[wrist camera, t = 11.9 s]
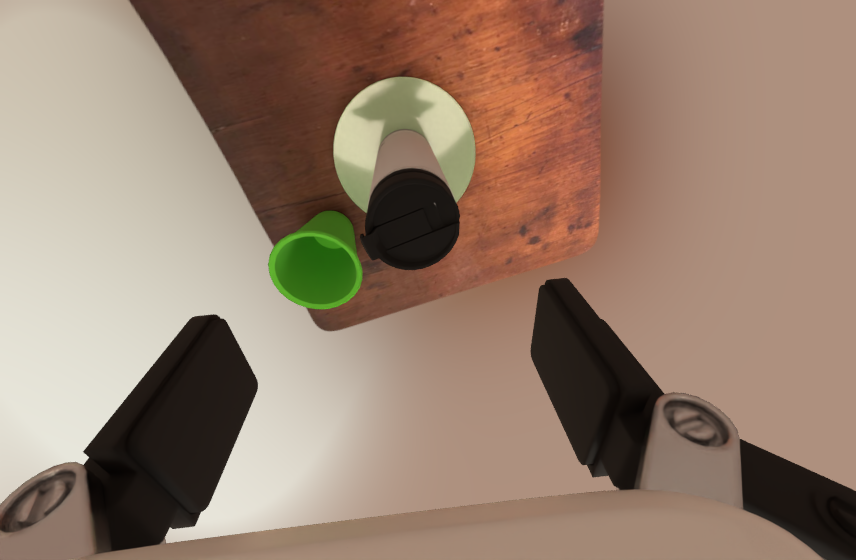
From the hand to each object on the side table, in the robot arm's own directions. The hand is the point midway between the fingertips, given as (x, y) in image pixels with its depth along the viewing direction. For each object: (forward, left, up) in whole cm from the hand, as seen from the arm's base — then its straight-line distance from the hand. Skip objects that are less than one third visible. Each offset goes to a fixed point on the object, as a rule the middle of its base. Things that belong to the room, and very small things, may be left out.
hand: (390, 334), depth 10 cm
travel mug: (+2, +1, -32) cm, 32 cm away
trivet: (+2, +1, -32) cm, 32 cm away
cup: (+10, -9, -33) cm, 35 cm away
